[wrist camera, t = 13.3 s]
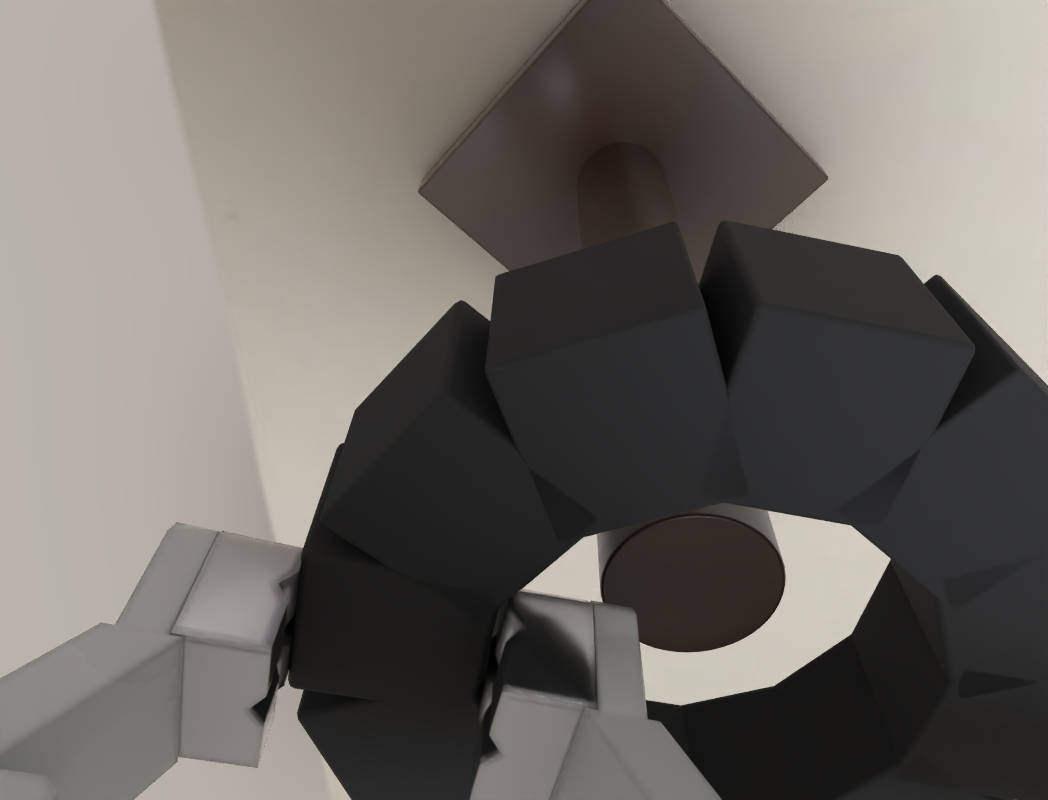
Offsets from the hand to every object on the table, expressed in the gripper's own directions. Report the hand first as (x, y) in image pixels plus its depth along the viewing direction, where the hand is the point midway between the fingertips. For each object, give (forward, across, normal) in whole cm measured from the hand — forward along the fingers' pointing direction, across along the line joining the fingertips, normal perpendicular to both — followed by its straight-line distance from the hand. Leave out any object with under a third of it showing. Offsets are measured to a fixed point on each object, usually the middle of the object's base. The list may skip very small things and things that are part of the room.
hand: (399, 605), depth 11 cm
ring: (+2, -4, 0) cm, 4 cm away
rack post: (+18, -4, 0) cm, 19 cm away
